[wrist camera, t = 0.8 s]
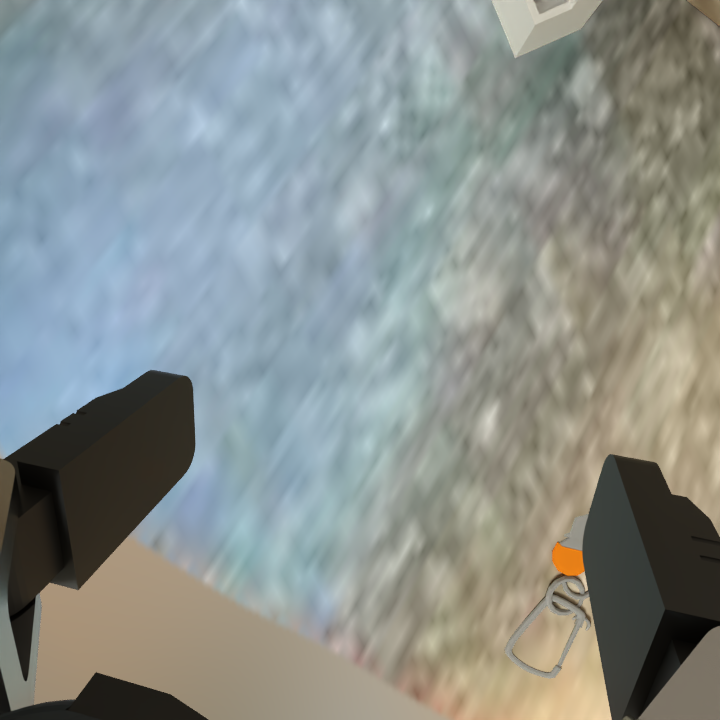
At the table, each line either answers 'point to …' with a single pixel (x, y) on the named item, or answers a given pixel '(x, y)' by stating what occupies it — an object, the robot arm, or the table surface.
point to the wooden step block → (708, 8)
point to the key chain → (570, 565)
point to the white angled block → (541, 20)
